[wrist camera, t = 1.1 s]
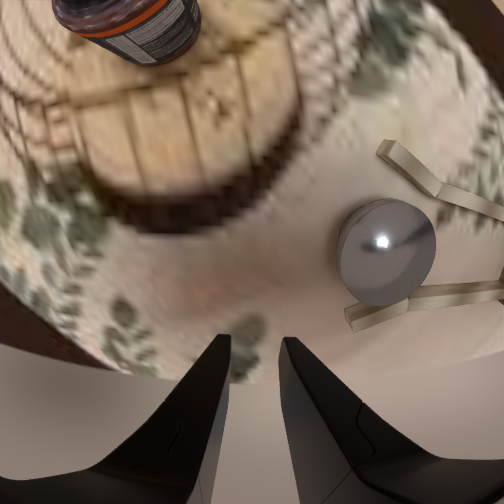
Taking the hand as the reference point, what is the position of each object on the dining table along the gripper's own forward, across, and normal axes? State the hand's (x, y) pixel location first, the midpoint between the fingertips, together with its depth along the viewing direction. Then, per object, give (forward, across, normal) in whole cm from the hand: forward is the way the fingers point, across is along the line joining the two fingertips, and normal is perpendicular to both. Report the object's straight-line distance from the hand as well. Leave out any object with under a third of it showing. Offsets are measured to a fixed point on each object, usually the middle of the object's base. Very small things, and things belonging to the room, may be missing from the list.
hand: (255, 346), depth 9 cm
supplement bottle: (+12, +7, -14) cm, 19 cm away
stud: (+12, -9, 0) cm, 15 cm away
